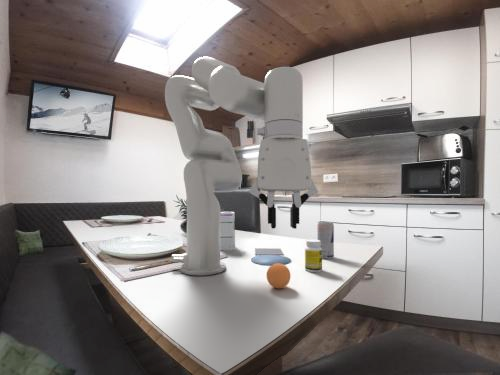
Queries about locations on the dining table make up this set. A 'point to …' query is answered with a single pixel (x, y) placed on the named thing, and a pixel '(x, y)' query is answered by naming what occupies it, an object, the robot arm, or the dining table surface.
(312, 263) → the supplement bottle
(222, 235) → the syrup box
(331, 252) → the energy drink
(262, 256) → the disc
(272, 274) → the ball
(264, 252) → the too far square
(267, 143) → the robot arm
